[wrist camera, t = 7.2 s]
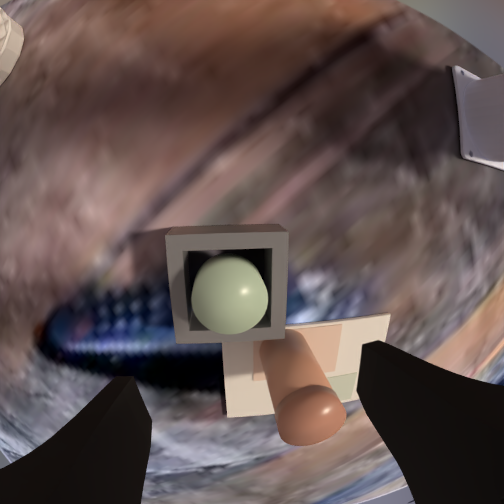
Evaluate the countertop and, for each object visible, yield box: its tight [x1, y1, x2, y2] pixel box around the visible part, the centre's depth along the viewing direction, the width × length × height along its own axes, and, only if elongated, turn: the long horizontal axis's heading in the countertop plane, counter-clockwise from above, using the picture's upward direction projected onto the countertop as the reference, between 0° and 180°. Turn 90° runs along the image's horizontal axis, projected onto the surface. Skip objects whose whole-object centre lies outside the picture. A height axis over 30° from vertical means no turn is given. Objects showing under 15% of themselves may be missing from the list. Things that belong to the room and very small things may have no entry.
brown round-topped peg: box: [259, 329, 346, 446], centre depth 15 cm, size 3×3×7 cm
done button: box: [191, 253, 268, 334], centre depth 14 cm, size 4×4×2 cm
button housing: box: [165, 224, 289, 344], centre depth 16 cm, size 6×6×2 cm
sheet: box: [222, 313, 391, 417], centre depth 19 cm, size 12×8×1 cm, turn 90°
